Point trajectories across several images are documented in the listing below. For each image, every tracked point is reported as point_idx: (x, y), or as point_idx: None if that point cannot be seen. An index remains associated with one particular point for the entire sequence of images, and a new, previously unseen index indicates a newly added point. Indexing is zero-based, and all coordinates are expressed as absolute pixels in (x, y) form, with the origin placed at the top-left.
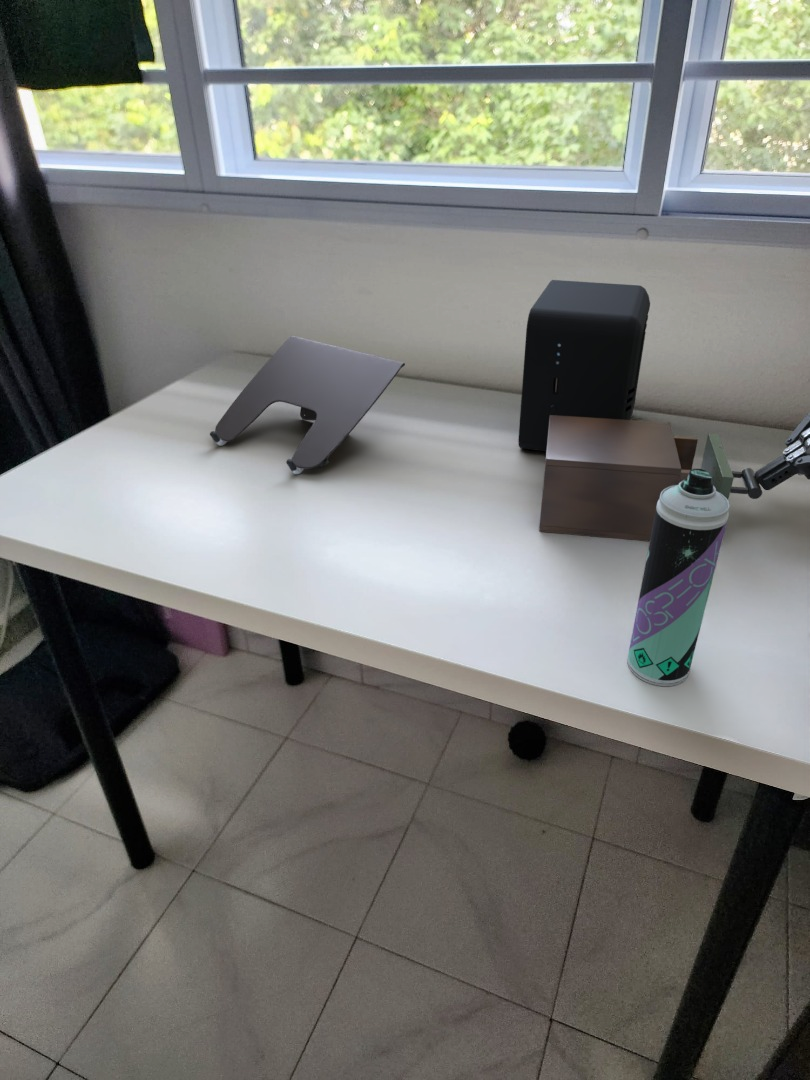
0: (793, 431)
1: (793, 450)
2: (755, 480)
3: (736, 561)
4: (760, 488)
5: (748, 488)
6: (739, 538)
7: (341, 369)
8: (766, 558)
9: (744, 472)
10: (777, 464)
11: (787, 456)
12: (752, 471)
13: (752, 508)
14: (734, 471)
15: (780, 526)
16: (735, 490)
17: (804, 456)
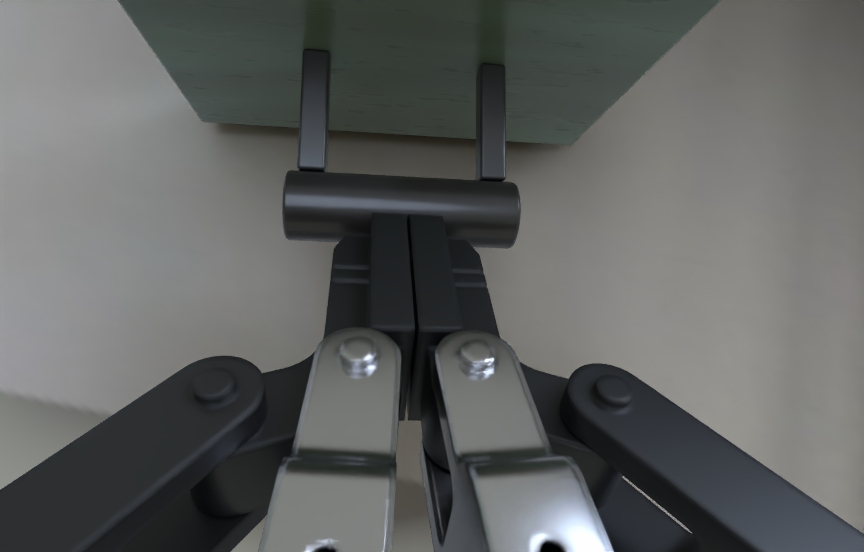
0: (727, 444)
1: (439, 390)
2: (373, 209)
3: (98, 178)
4: (293, 220)
5: (311, 170)
6: (267, 222)
7: None
8: (130, 290)
9: (482, 183)
10: (379, 289)
11: (388, 340)
12: (486, 220)
13: (503, 316)
14: (502, 144)
15: None
16: (300, 111)
17: (220, 427)
